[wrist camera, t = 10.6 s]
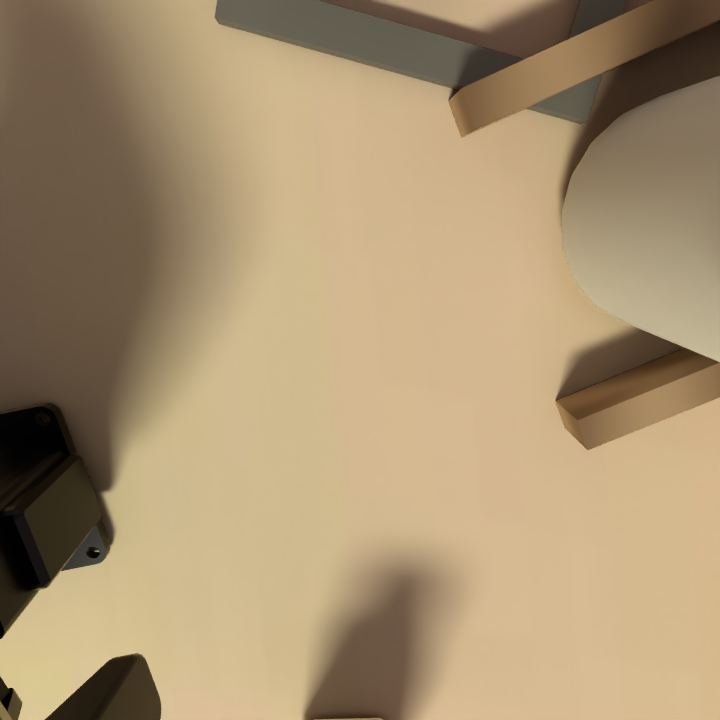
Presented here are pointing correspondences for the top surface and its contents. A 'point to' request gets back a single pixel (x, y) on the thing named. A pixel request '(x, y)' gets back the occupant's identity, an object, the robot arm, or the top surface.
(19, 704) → the robot arm
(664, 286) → the can
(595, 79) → the holster frame
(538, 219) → the top surface
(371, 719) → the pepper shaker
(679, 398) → the dock
